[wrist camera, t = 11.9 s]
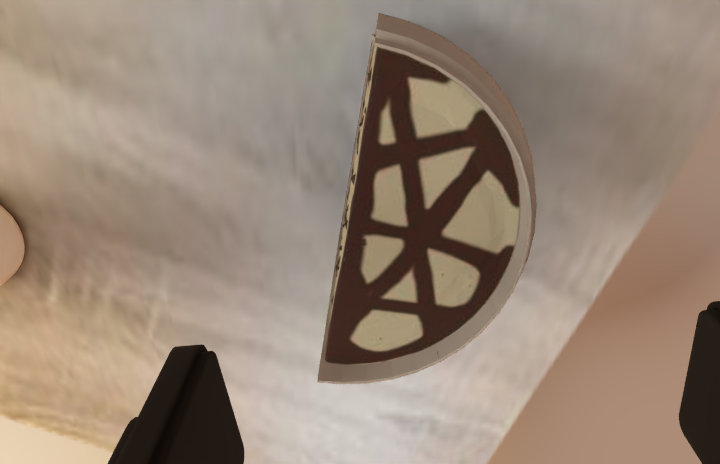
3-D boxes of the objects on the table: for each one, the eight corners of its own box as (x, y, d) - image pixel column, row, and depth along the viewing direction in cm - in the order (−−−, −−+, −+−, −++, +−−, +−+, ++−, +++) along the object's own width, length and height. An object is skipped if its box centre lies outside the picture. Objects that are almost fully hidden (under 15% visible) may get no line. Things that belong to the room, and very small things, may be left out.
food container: (454, 274, 28) (488, 419, 19) (336, 255, 28) (315, 394, 19) (524, 22, 23) (617, 63, 14) (379, -4, 23) (378, 20, 14)
